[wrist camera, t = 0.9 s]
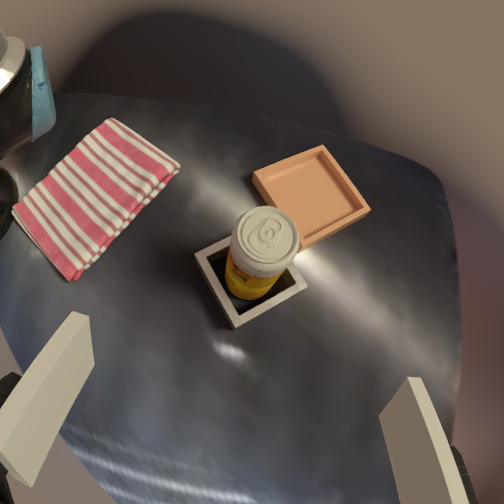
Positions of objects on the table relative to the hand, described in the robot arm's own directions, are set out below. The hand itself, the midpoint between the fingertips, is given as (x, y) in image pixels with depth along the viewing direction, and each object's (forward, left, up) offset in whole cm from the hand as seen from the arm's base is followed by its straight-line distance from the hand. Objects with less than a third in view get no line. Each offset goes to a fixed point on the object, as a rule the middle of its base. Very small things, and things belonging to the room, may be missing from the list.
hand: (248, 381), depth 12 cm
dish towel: (-30, -6, -28) cm, 42 cm away
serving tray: (-14, +22, -27) cm, 38 cm away
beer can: (-8, +8, -28) cm, 30 cm away
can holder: (-8, +8, -27) cm, 30 cm away
